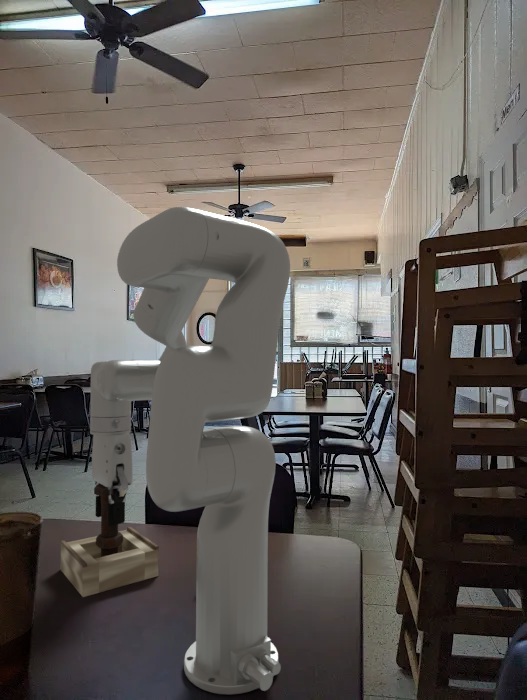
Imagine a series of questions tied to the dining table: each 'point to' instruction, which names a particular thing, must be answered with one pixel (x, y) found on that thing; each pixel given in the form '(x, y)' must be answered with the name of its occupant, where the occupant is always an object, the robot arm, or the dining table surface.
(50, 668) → the dining table surface
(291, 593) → the dining table surface
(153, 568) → the socket
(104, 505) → the bolt
